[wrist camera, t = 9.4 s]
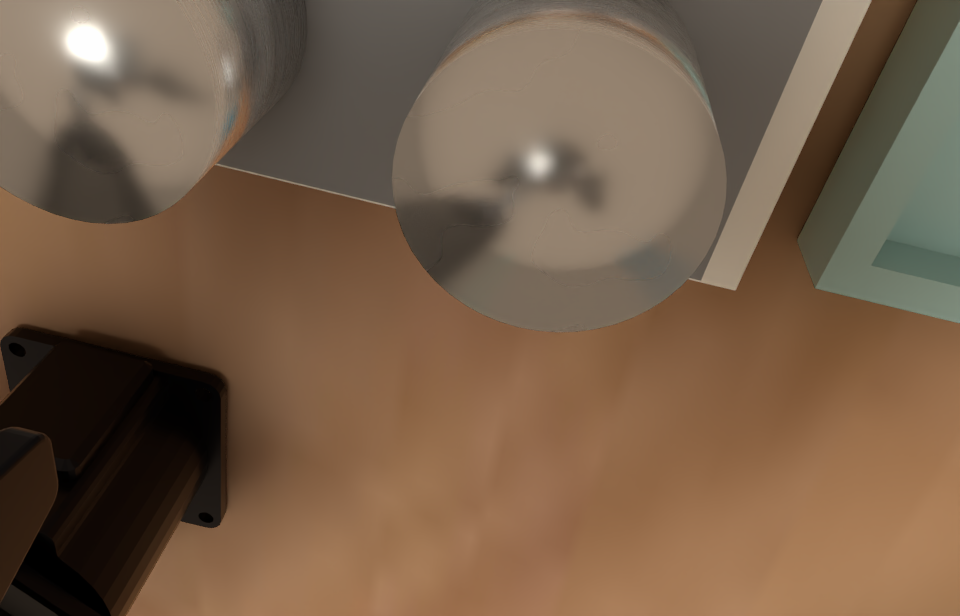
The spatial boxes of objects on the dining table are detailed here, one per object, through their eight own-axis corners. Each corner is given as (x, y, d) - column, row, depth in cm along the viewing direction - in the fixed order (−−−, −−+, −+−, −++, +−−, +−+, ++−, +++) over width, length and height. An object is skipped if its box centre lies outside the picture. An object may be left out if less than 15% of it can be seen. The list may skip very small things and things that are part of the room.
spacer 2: (651, 234, 15) (661, 361, 12) (425, 179, 15) (374, 292, 12) (740, -4, 13) (784, 78, 9) (468, -70, 13) (417, -11, 9)
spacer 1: (299, 149, 15) (214, 254, 12) (73, 93, 15) (-73, 183, 12) (316, -105, 13) (214, -59, 9) (44, -173, 13) (-152, -149, 9)
